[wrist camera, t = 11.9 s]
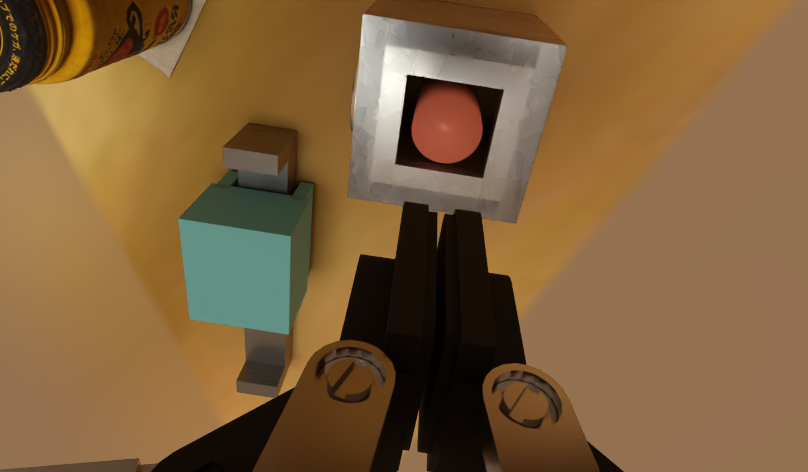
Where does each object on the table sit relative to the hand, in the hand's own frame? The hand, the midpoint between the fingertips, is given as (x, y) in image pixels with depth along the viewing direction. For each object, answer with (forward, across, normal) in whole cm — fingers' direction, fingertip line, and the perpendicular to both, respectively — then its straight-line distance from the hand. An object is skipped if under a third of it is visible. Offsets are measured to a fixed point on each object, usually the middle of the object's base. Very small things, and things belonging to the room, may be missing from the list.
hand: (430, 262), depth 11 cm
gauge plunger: (+16, -1, +1) cm, 16 cm away
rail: (+19, +9, +16) cm, 26 cm away
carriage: (+19, +9, +13) cm, 25 cm away
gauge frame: (+20, -1, +2) cm, 20 cm away
